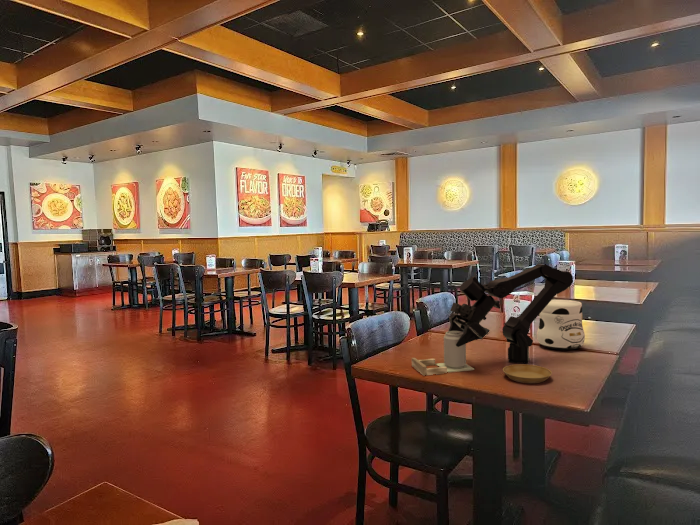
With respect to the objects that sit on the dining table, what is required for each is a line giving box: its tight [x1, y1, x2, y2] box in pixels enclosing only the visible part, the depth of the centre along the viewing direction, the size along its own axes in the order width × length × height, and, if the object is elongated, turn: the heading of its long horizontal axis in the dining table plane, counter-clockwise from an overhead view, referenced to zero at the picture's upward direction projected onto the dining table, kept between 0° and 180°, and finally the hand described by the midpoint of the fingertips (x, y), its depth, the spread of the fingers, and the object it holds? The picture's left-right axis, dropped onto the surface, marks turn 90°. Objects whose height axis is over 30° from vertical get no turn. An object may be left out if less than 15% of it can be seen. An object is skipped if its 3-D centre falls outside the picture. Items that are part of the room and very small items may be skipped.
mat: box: [435, 362, 475, 373], centre depth 170 cm, size 10×10×1 cm
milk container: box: [536, 299, 586, 351], centre depth 192 cm, size 17×17×18 cm
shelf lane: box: [411, 357, 448, 377], centre depth 168 cm, size 8×12×3 cm
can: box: [443, 330, 467, 368], centre depth 169 cm, size 8×8×12 cm
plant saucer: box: [502, 363, 553, 384], centre depth 156 cm, size 15×15×3 cm
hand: (451, 343), depth 169 cm, fingers open, 9 cm apart
